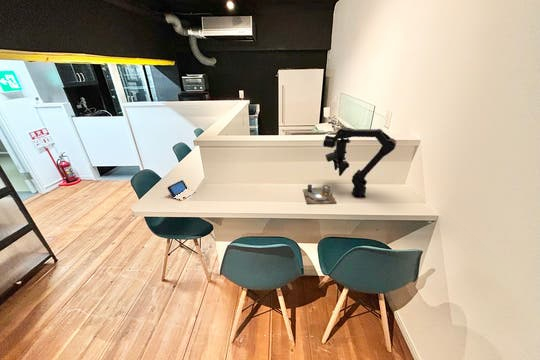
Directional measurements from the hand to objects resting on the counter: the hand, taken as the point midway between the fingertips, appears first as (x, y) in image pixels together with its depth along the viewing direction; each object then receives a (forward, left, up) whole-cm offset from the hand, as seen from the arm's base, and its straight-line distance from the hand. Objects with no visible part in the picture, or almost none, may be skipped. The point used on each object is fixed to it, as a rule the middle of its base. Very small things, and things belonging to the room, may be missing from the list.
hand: (337, 172), depth 134 cm
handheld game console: (+99, +3, -12) cm, 100 cm away
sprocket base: (+13, +9, -12) cm, 20 cm away
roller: (+9, +11, -9) cm, 17 cm away
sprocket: (+13, +9, -11) cm, 19 cm away
